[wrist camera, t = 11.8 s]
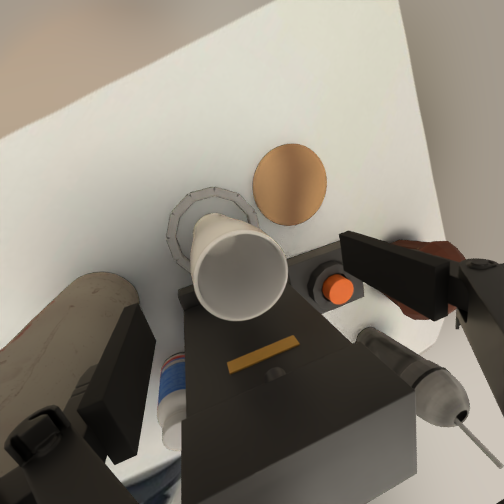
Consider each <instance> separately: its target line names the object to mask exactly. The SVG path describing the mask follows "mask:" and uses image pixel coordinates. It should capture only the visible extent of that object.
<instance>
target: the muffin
mask: <svg viewBox="0 0 504 504" xmlns="http://www.w3.org/2000/svg"><path fill="white" fill-rule="evenodd" d="M392 244H395V245H398V246H402V247H405V248H408V249H416V250H419V251H423V252H425V253H430V254H433V255H436V256H440V257H443V258H447V259H450V260H453V261H457V262H461V261H463V260H466V259H465V257H464V256H463V255H462V253H461V252H460V251H459V250H458V249H457V248H456V247H455V246H453V245H452V244H451V243H450V242H448V241H433V242H421V241H410V240H397V241H395V242H392ZM380 292H381V291H380ZM381 293H382V292H381ZM383 294H384V293H383ZM384 295H385V296H386V297H388V298H389V299H390V300H391V301H393V302H394V303H395V304H396V305H398V306H399V307H400V309H401V310H402V312H403V314H404V315H406V316H408V317H410V318H412V319H414V320H429V318H427V317H425V316H423V315H422V314H420V313H418V312H416V311H415V310H413V309H411V308H409V307H407V306H406V305H404V304H402V303H400V302H398V301H397V300H395V299H393V298H391V297H390V296H388V295H386V294H384ZM456 309H457V307H455V306H452V305H450V304H448V314H449V313H451V312H453V311H454V310H456Z"/></svg>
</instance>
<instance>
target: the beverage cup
mask: <svg viewBox="0 0 504 504" xmlns="http://www.w3.org/2000/svg"><path fill="white" fill-rule="evenodd" d="M358 341H360V342H361V343H363V344H364V345H365V346H366V347H367V348H368V349H369V350H370V351H372V352H373V353H374V354H375V355H376V356H377V357H378V358H379V359H381V360H382V361H383V362H384V363H385V364H386V365H387V366H388V367H390V368H391V369H392V370H393V371H394V372H395V373H396V374H397V375H398V376H400V377H401V378H402V379H403V380H404V381H405V382H406V383H407V384H409V385H410V386H411V387H412V388H413V389H414V390H415V394H416V415H417V416H419V417H420V418H422V419H423V420H425V421H427V422H429V423H430V424H433V425H436V426H440V427H454V426H459V427H460V428H461V429H462V430H463V431H464V432H465V433H466V434H467V435H468V436H469V437H470V438H471V440H472V441H474V443H475V444H476V445H477V446H478V447H479V448H480V449H481V450H482V451H483V452H484V453H485V454H486V455H487V456H488V457H489V458H490V459H491V460H492V461H493V462H494V463H495V464H496V465H497V467H499V469H501V468H502V467H503V466H504V465H503V464H502V463H500V461H499V460H498V459H497V458H496V457H495V456H494V455H493V454H492V453H491V452H490V451H489V450H488V449H487V448H486V447H485V446H484V445H483V444H482V443H481V442H480V441H479V440H478V439H477V438H476V437H475V436H474V435H473V434H472V433H471V432H470V431H469V430H468V429H467V428H466V427H465V426H464V425H463V424H462V423H463V422H464V421H465V420H466V418H467V417H468V414H469V409H470V403H469V399H468V396H467V393H466V391H465V389H464V388H463V386H462V385H461V383H460V382H459V381H458V380H457V379H456V378H455V377H454V376H453V375H451V373H450V372H449V371H448V370H447V369H446V368H442V367H440V366H439V365H437V364H435V363H433V362H431V361H429V360H426V359H424V358H423V357H421V356H420V355H418V354H416V353H415V352H413V351H412V350H410V349H408V348H407V347H405V346H403V345H402V344H400V343H399V342H397V341H395V340H394V339H392V338H391V337H389V336H387V335H386V334H384V333H383V332H380V331H379V330H376V329H375V328H373V327H368V328H366V329H364V330H362V331H361V332H360V334H359V335H358V337H357V340H356V342H358Z"/></svg>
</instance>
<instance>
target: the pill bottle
mask: <svg viewBox="0 0 504 504" xmlns="http://www.w3.org/2000/svg"><path fill="white" fill-rule="evenodd" d="M157 419H158V422H159V424H160V426H161V427H162V441H163V444H164V446H165V447H166V448H167V449H169V450H173V451H181V421H182V420H184V419H186V383H185V353H181V354H177V355H174V356H172V357H170V358H169V359H168V360H167V361H166V362H165V363H164V364H163V366H162V369H161V375H160V386H159V396H158V407H157Z"/></svg>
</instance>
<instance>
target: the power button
mask: <svg viewBox="0 0 504 504" xmlns="http://www.w3.org/2000/svg"><path fill="white" fill-rule="evenodd" d="M353 290H354V287H353V284H352V282H351V281H350V280H348V279H346V278H345V277H343V276H341V275H338V274H335V275H332V276H330V277H328V278H327V279H326V280H325V282H324V284H323V288H322V291H323V294H324V296H325V297H326V298H328V299H329V300H330V301H331V302H333V303H334V304H343V303H345V302H347V301H348V300H349V299H350V298H351V296H352V294H353Z"/></svg>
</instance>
